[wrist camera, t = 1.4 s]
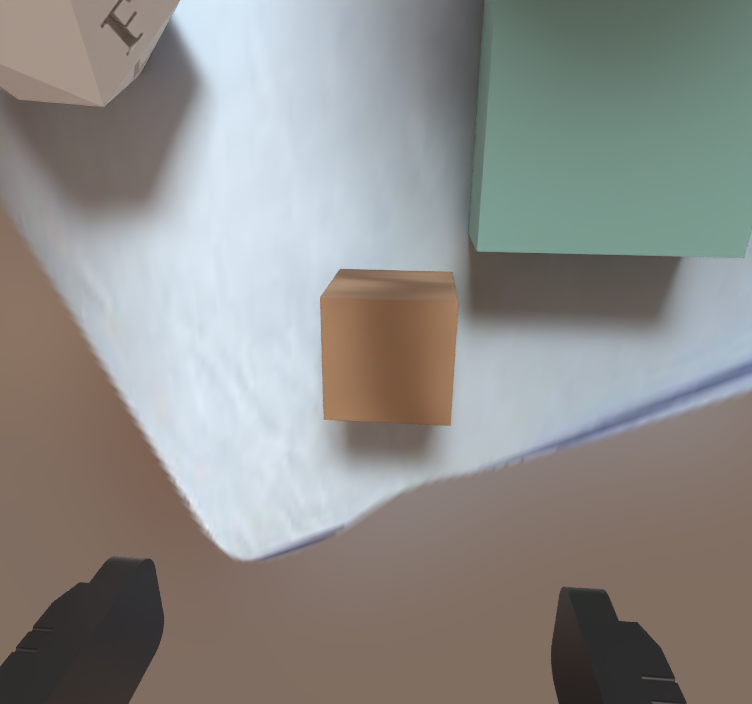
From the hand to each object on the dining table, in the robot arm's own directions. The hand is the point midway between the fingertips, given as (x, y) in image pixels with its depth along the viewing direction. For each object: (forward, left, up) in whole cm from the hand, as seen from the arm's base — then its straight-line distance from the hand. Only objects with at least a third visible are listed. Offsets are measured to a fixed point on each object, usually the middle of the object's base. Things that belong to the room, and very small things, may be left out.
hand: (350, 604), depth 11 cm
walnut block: (0, 0, -18) cm, 18 cm away
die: (-13, +14, -18) cm, 27 cm away
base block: (+8, +10, -18) cm, 22 cm away
